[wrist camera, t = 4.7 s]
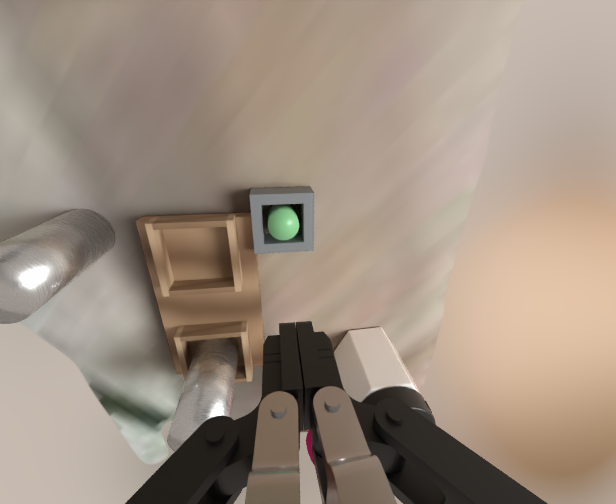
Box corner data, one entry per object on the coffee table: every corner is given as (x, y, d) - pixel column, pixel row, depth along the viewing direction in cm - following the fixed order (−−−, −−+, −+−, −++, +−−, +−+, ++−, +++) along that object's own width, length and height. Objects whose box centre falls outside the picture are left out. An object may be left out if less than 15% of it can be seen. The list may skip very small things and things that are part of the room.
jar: (370, 379, 43) (404, 467, 32) (322, 364, 40) (343, 454, 29) (404, 335, 40) (455, 415, 29) (356, 316, 37) (391, 397, 26)
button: (267, 203, 29) (266, 211, 27) (296, 201, 30) (298, 210, 27) (268, 230, 31) (268, 241, 28) (296, 229, 31) (299, 239, 28)
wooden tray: (140, 213, 28) (125, 224, 25) (252, 208, 30) (250, 219, 26) (180, 366, 37) (172, 389, 34) (265, 358, 38) (265, 379, 35)
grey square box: (251, 188, 29) (249, 194, 26) (310, 186, 29) (314, 192, 27) (255, 243, 31) (254, 253, 29) (310, 240, 32) (313, 250, 29)
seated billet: (193, 334, 33) (161, 424, 24) (236, 330, 34) (223, 417, 24) (200, 365, 36) (173, 460, 26) (241, 361, 36) (230, 453, 26)
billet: (50, 209, 27) (-74, 261, 17) (106, 207, 28) (17, 256, 18) (69, 256, 29) (-32, 326, 19) (121, 254, 30) (48, 320, 20)
